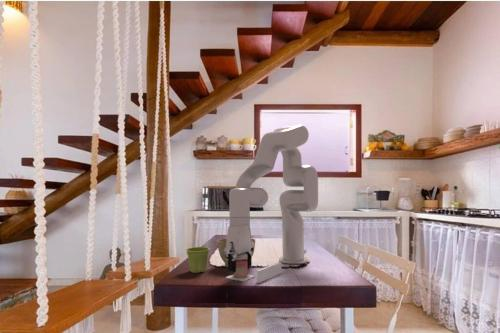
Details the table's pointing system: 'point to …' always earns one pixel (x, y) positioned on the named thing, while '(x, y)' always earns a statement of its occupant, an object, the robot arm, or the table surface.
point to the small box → (241, 266)
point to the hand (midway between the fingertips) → (240, 268)
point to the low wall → (268, 272)
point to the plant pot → (197, 258)
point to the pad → (240, 278)
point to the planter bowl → (222, 246)
